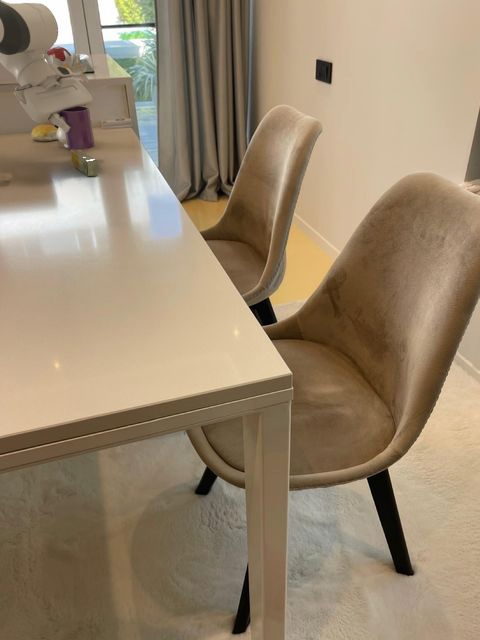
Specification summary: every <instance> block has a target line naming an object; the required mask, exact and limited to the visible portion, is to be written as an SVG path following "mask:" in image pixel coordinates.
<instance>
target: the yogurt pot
mask: <svg viewBox="0 0 480 640" xmlns="http://www.w3.org/2000/svg"><path fill="white" fill-rule="evenodd" d="M61 113H62V117H61V119H62V118H63V121H65V122H68V123H69V124H70V125H71V126H72V129H71V131H70V132H67V133H65V134H66V140H67V145H68V148H67V149H69V150H81V151H83V150H84V151H85V150H89V149H93V148H94V147H95V146H96V144H95V138H94V131H93V126H92V125H93V123H92V124H91V119H92V117H91V114H90V107H89V108H88V107H80V106H77V107H74V108H71V109H67V110H64V111H63V110H62V111H61ZM90 117H91V118H90Z"/></svg>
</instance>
